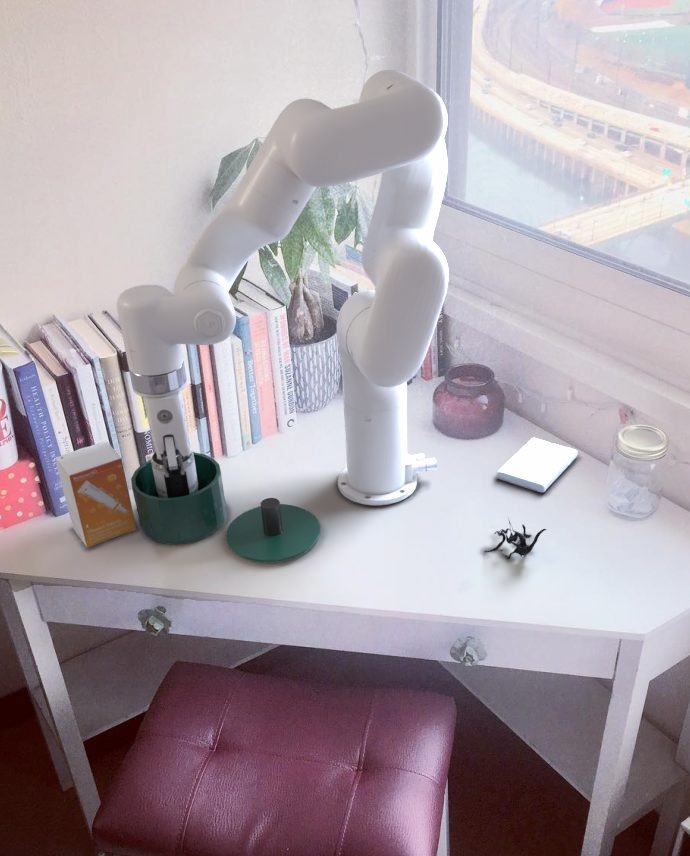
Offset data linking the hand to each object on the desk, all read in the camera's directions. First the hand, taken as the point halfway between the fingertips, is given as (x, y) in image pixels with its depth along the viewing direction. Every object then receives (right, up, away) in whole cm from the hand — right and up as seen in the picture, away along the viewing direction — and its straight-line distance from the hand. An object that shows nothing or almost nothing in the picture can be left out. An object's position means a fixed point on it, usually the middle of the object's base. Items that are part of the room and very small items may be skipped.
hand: (177, 483), depth 136 cm
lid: (+15, -8, -1) cm, 16 cm away
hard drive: (+56, +3, +11) cm, 58 cm away
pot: (0, -5, +4) cm, 7 cm away
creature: (+49, -10, -6) cm, 50 cm away
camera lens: (0, -2, +2) cm, 3 cm away
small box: (-11, -7, +2) cm, 14 cm away
